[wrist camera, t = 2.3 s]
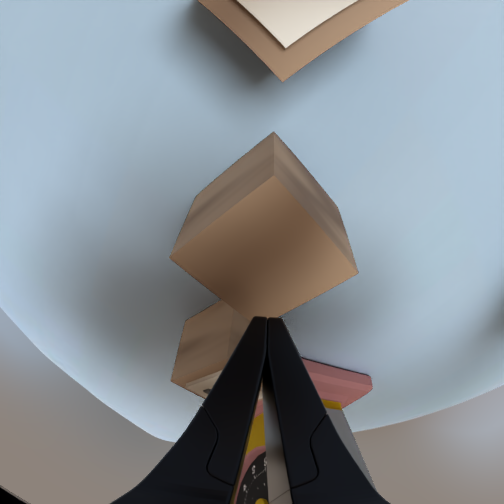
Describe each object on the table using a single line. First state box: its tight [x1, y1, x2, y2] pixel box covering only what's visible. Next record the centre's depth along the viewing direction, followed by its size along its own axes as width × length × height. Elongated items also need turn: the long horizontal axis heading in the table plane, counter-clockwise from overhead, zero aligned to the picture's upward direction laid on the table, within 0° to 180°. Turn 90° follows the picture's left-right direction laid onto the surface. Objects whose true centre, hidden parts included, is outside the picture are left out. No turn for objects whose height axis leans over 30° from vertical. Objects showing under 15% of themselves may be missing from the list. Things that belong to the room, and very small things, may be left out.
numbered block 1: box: [171, 300, 263, 401], centre depth 19 cm, size 5×5×5 cm
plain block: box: [169, 132, 358, 321], centre depth 13 cm, size 5×5×5 cm
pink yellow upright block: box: [234, 358, 377, 504], centre depth 20 cm, size 22×9×22 cm, turn 154°
